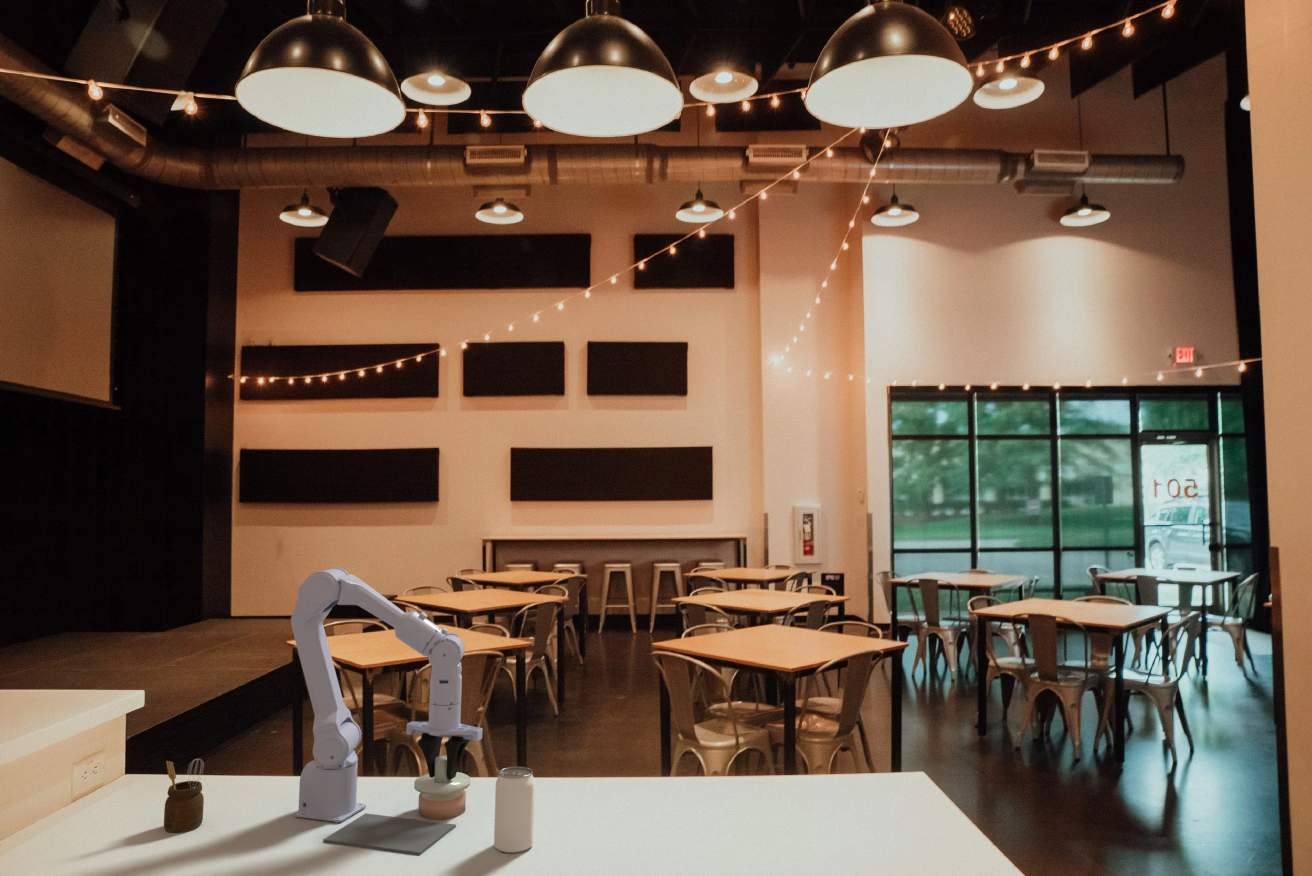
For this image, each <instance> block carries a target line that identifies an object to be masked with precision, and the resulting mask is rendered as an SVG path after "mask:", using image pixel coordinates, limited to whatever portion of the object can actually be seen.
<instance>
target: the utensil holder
mask: <svg viewBox="0 0 1312 876" xmlns="http://www.w3.org/2000/svg"><path fill="white" fill-rule="evenodd" d="M195 761H196V763H195ZM199 761H201V766H202V768H200V772H201V773H202V774H203V773H204V771H203V770H204V768H205V766H204V764H205V763H204V761H202V759H201V758H195V759H193V760H192V762H189V765H188V769H187V772H188V774H189V777H191V776H192V772H191V771H190V770H192V768H193V767H191V766H193V764H194V763H195V765H196V766H195V768H194V770H195V771H194V772H193V774H194V776H193V780H187V781H186V780H185V781H180V782H175V781H176V780H175V779H177V777H176V771H175V766H174V762H173V761H168V760H166V761H165V763H166V768H167V769H166V770H167V774H168V778H169V779H170V780H171V783H172V784H171V785H170V786H169V787H168V789H167V796H168V797H167V798H166V800H165V803H164V810H163V811H164V813H163V815H164V816H163V828H164V831H165V832H166V833H172V834H179V833H186V832H189V831H192V830H193V831H194V830H195V829H197V828H199V827H200V826H201V825H202V823H203V820H204V819H203V818H204V805H205V804H204V802H205V801H204V794H203V793H202V790H203V785H202V782H201V781H200V780H195V777H196V775H197V773H196V772H197V771H198V769H197V767H198V766H199V764H198V762H199ZM201 773H198V774H199V775H198V778H197V779H200V778H201Z"/></svg>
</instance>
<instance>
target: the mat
mask: <svg viewBox="0 0 1312 876" xmlns="http://www.w3.org/2000/svg"><path fill="white" fill-rule="evenodd" d="M456 827H457V824H456V823H455V824H454V823H447V822H440V821H439V822H437V821H432V820H431V821H430V820H423V819H413V818H405V817H399V816H398V817H397V816H390V815H384V814H383V815H381V814H374V813H364V814H361V815H360V816H359V817H357V818H356V819H354V820H353V821H351V822H350V823H347V824H346V825H344V826H343V827H341V828H339V829H338V830H337V831H334V832H333V833H332V834H330V835H328V836H327V837H325V838H324V839H323V840H322V842H323V843H329V844H336V845H342V846H343V845H344V846H351V847H356V848H366V849H374V850H380V851H387V852H396V853H402V854H403V853H404V854H411V855H418V856H420V855H422V854H424V853H425V852H426V851H427V850H428V849H430V848H431V847H432V846H434V845H435V844H436V843H437V842H439V841H440V840H442V838H444V837H445V836H446V835H447V834H449V833H450V832H451V831H452V830H454V829H455V828H456Z"/></svg>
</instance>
